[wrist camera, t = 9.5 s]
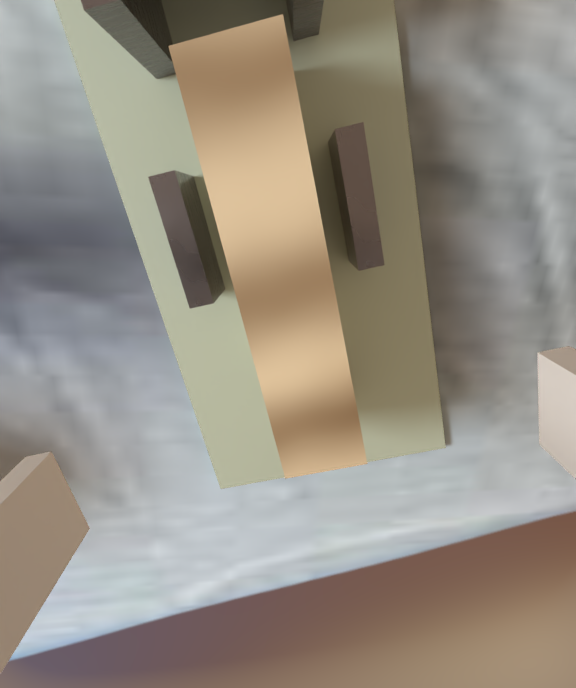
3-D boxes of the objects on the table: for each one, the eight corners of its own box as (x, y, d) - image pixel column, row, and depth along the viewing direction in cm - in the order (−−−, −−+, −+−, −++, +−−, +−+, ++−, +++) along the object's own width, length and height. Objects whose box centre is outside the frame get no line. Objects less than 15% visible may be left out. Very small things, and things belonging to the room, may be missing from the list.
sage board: (16, -121, 17) (10, -129, 17) (363, -237, 16) (365, -247, 15) (221, 485, 27) (220, 488, 27) (443, 444, 26) (445, 447, 25)
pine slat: (205, 94, 19) (168, 45, 13) (285, 72, 19) (283, 14, 13) (287, 416, 25) (285, 478, 19) (350, 404, 24) (367, 463, 19)
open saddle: (171, 181, 20) (148, 176, 17) (351, 136, 20) (363, 121, 16) (204, 293, 22) (189, 308, 19) (370, 256, 22) (384, 265, 18)
